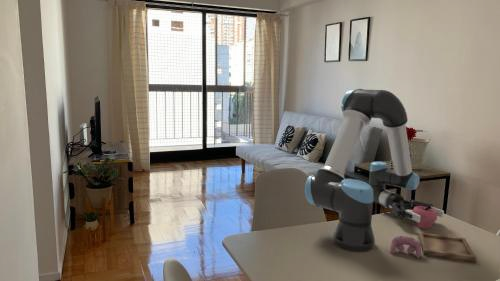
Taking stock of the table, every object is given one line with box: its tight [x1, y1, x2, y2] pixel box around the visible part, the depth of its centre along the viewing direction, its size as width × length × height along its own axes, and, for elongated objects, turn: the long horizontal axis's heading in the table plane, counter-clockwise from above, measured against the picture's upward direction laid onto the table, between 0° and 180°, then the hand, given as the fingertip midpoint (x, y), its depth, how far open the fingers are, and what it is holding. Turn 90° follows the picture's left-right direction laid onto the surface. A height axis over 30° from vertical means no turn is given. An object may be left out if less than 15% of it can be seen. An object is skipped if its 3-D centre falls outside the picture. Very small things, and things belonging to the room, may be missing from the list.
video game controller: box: [390, 235, 422, 259], centre depth 134 cm, size 10×5×7 cm, turn 66°
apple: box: [412, 206, 438, 230], centre depth 157 cm, size 10×9×10 cm
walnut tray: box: [418, 232, 477, 264], centre depth 138 cm, size 16×16×2 cm
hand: (431, 216), depth 154 cm, fingers open, 13 cm apart
